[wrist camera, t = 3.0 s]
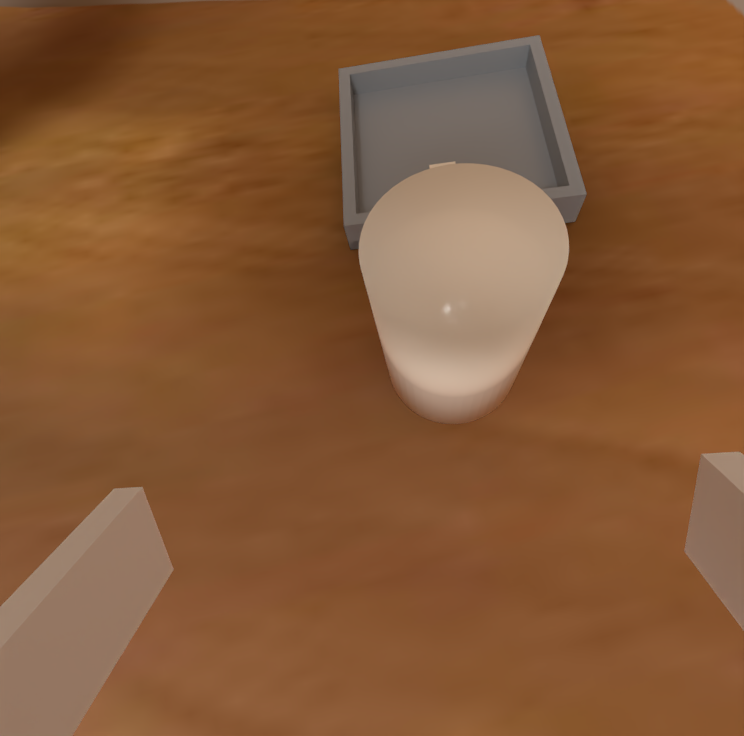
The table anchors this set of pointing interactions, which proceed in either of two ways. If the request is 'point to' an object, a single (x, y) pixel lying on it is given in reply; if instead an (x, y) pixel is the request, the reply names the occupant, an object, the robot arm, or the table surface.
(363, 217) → the slate tray
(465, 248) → the white pitcher
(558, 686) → the table surface
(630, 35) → the table surface
